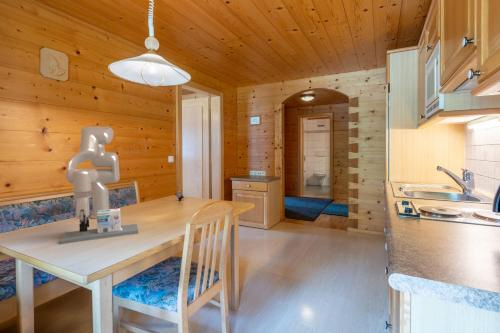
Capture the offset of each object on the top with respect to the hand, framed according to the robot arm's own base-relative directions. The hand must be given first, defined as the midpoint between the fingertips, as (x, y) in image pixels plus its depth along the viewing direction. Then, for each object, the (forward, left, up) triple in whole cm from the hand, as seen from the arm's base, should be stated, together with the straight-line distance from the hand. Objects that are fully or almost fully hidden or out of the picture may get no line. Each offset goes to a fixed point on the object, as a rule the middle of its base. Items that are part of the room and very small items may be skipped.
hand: (84, 229), depth 134 cm
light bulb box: (0, +11, -3) cm, 12 cm away
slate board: (0, +8, -4) cm, 9 cm away
